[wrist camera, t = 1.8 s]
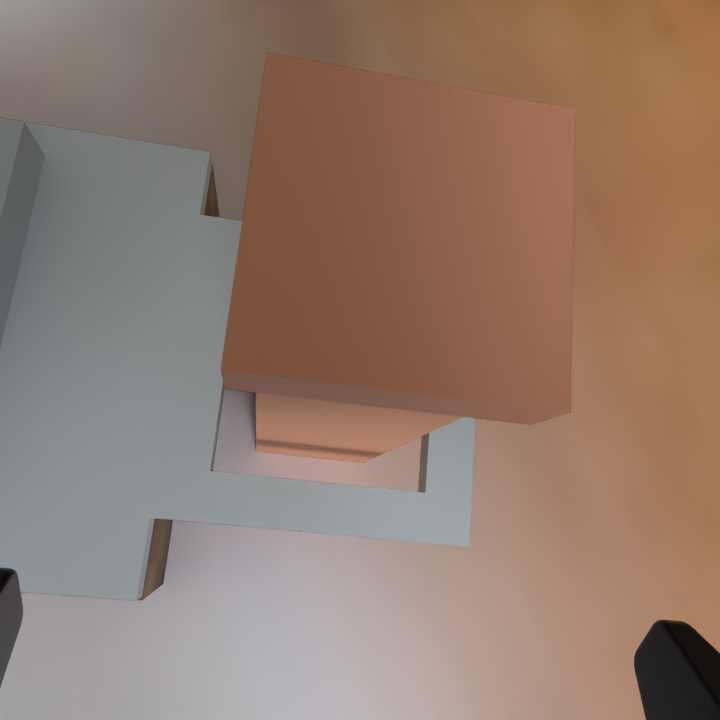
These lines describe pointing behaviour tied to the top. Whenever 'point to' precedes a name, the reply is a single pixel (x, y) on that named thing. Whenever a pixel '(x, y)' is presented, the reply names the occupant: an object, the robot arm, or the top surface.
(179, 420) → the lid
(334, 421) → the salmon brown tall block
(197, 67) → the top surface
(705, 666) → the robot arm
